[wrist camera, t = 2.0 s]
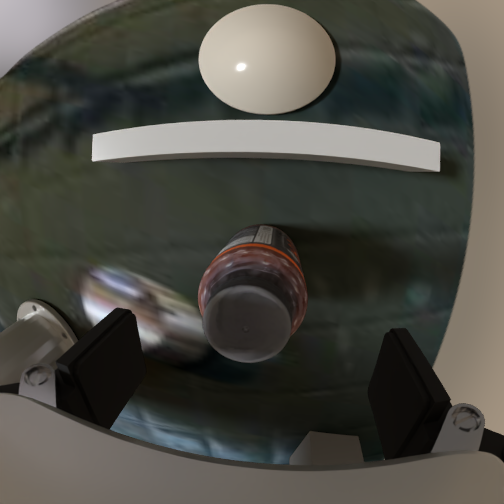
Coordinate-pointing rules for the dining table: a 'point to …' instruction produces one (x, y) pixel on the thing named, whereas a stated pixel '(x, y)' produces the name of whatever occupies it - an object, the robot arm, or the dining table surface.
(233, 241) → the supplement bottle
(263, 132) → the low wall
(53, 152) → the dining table surface
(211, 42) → the resting pad
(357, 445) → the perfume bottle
